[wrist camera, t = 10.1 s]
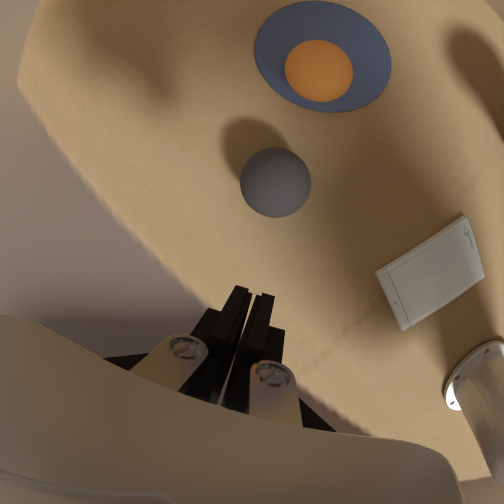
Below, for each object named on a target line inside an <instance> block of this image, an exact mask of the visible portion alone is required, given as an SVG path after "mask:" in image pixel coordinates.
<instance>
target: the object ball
mask: <svg viewBox="0 0 504 504" xmlns="http://www.w3.org/2000/svg"><path fill="white" fill-rule="evenodd" d="M285 75H286V78H287V81H288V83H289V84H290V86H291V87H292V89H293V90H294V91H295V92H296V93H298V94H299V95H300V96H302V97H304V98H306V99H308V100H311V101H315V102H328V101H332V100H335V99H337V98H339V97H340V96H342V95H343V94H344V93H345V92H346V91H347V90H348V88H349V87H350V85H351V82H352V79H353V68H352V64H351V62H350V60H349V58H348V56H347V55H346V53H345V52H344V51H343V50H342V49H340V48H339V47H338V46H336V45H334V44H332V43H330V42H327V41H323V40H309V41H306V42H303V43H301V44H299V45H297V46H296V47H295V48H294V49H293V50H292V51H291V52H290V53H289V55H288V57H287V59H286V63H285Z"/></svg>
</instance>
